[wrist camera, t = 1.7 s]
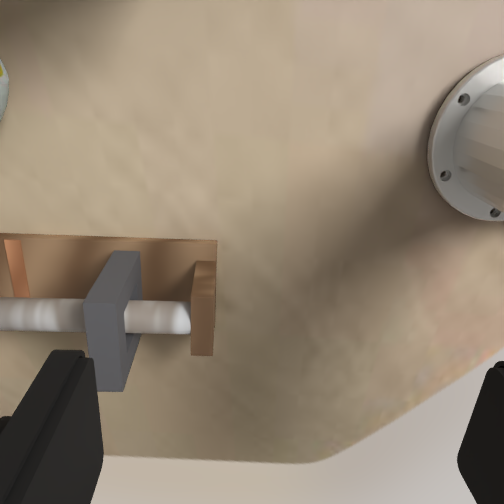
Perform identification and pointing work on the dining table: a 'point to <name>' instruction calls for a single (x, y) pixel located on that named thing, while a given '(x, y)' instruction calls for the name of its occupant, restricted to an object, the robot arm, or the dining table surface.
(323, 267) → the dining table surface
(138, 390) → the dining table surface
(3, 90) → the air freshener
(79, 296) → the pipe stand
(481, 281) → the dining table surface
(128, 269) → the grey flat block
